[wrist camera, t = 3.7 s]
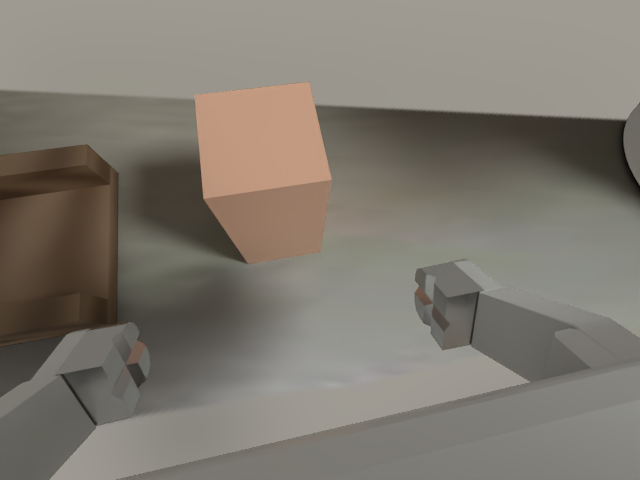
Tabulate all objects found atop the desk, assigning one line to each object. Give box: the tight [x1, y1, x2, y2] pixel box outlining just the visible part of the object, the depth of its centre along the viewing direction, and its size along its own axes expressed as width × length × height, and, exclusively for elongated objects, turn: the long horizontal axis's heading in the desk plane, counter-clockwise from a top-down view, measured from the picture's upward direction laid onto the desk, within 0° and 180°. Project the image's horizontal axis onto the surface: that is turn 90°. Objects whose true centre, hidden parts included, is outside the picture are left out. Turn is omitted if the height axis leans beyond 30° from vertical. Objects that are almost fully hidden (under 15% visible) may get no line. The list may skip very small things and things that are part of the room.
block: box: [195, 82, 332, 264], centre depth 18 cm, size 5×5×10 cm
